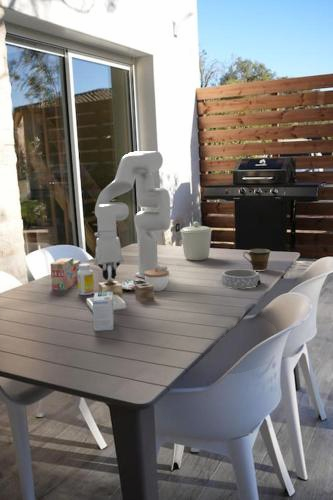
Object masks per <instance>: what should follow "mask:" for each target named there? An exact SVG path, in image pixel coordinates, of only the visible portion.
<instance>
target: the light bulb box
mask: <svg viewBox="0 0 333 500" xmlns="http://www.w3.org/2000/svg"><path fill="white" fill-rule="evenodd" d="M92 298H93V312H92V315H93V331H94V332H95V331H113V330H114V322H115V321H114V320H115V318H114V317H115V316H114V310H113V292H99V291H98V292H94V293H93V297H92Z"/></svg>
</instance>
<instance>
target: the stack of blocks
mask: <svg viewBox="0 0 333 500" xmlns="http://www.w3.org/2000/svg"><path fill="white" fill-rule="evenodd" d="M80 264H81V260H80V259H79V260H77V259H76V260H74V258H73V257H60V258H58V259H57V260H55V261H53V262H51V263H50V265H49V266H50V276H51V287H52V288H51V290H53V291H66V290H68V289H69V288H71V287H72V286H73V285H75V284H76V283H78V277H77V272H78V271H79V270H80V268H79V265H80Z"/></svg>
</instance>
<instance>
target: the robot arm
mask: <svg viewBox="0 0 333 500" xmlns="http://www.w3.org/2000/svg"><path fill="white" fill-rule="evenodd" d="M162 155H163V154H161V152H160V151H156V150H152V151H151V150H150V151H147V150H146V151H133V152H128V154H125V155H124V156H122V157H121V160H120V162H119V164H118V165H119V166H118V167H117V171H116V173H115V174H116V175H115V177H114V180H113V181H112V182H110V183H109V184H108V185H106V187H104V188H103V189H102V190H101V192H100V193H99V195H98V197H97V201H96V203H95V205H94V206H95V207H94V215H95V217H96V218H97V232H94V237H97V238H96V242H95V258H94V261H93V262H92V263H93V265H94V266H96V267H99V268H100V269H101V270H102V278H103V279H104V280H106V281H107V279H108V278H107V270H106V263H112V274H113V280H115V279H116V277H117V269H118V268H119V266H120V265H122V264H123V263H124V262H125V260H124V258H123V256H122V255H123V254H122V247H121V246H122V245H121V242H120V237H118V234H117V232H118V231H117V221H123V220H126V219H127V218H128V216H129V214H130V208H129V206H128V205H127V204H126V203H124V202H121V201H120V202H115V201H114V202H113V201H112V200H113V199H114V198H116V197H118V196H121V195H124V194H125V193H128V192H130V191H131V190H132V189H133V187H134V185H135V184H136V202H137V206H138V207H139V208H142V209H158V210H142V211H139V212H137V213H136V214H135V215H134V217H133V218H134V220H133V221H134V226H135V231H136V232H135V233H136V237H137V242H136V243H137V263H138V264H137V265H138V266H137V267H138V271H137V272H135V276H136V277H138V278H142V279H143V278H144V279H145V275H144V273H145V271H148V270H154V269H155V268H158V269H162V270H167V271H168V266H167V265H159V264H158V262H159V261H158V240H157V236H156V234H155V233H154V232H166V231H168V230H169V229H170V227H171V224H172V223H171V216H172V215H171V196H170V192H169V190H167V188H164V187H163V188H162V187H156V186H155V178H154V177H155V176H154V175H153V172H157V171H159V170H161V168H162V166H163V162H164V159H163V156H162Z"/></svg>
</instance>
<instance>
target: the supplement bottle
mask: <svg viewBox="0 0 333 500" xmlns="http://www.w3.org/2000/svg"><path fill="white" fill-rule="evenodd" d="M79 268H80V270H79V271H78V272H77V277H78V281H77V287H78V289H77V290H78V294H79V295H81V296H90V295H94V293H95V287H94V284H95V283H94V273H93V272H94V271H93V270H92V269H91V264H90V263H80V265H79Z"/></svg>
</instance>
